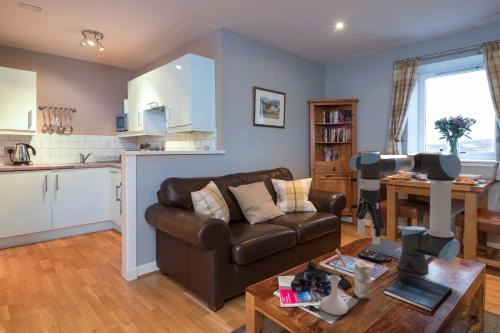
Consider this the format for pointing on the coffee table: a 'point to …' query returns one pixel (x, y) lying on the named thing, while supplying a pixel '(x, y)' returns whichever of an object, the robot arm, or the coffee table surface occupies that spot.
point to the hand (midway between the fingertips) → (368, 238)
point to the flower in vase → (334, 294)
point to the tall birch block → (362, 281)
